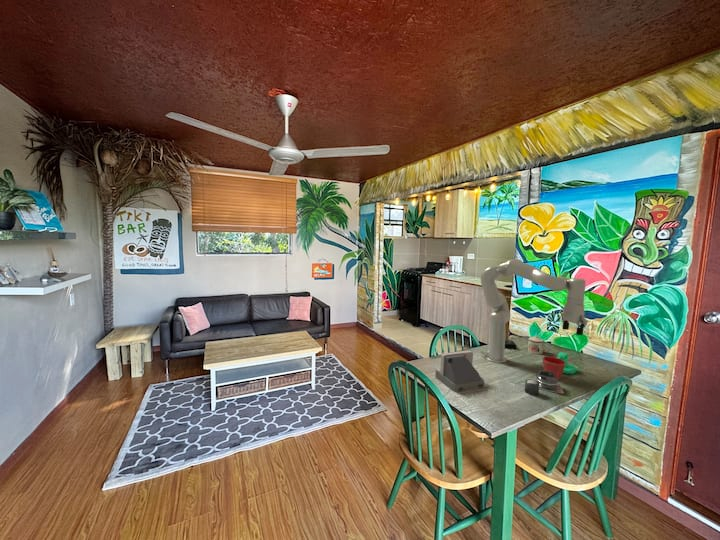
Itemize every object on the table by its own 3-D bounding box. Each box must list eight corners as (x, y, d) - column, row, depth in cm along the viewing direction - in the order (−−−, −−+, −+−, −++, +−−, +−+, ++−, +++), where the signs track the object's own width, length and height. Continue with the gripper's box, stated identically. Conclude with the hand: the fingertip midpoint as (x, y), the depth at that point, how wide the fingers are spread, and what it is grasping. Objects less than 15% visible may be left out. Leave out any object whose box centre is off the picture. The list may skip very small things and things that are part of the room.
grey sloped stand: (467, 372, 169) (468, 346, 168) (488, 390, 149) (490, 361, 148) (432, 374, 166) (433, 348, 164) (449, 392, 145) (451, 363, 144)
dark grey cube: (525, 393, 146) (526, 383, 145) (524, 388, 151) (524, 378, 151) (539, 396, 143) (540, 385, 143) (537, 391, 149) (538, 380, 148)
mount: (567, 375, 168) (568, 358, 167) (553, 370, 175) (554, 353, 174) (578, 371, 173) (580, 354, 172) (564, 367, 180) (566, 350, 179)
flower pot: (569, 380, 161) (570, 363, 160) (551, 381, 159) (553, 364, 159) (553, 372, 172) (554, 356, 171) (536, 373, 170) (538, 356, 169)
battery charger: (512, 346, 216) (512, 340, 216) (516, 350, 207) (516, 345, 207) (493, 344, 219) (493, 339, 219) (496, 348, 210) (496, 343, 210)
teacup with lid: (525, 351, 204) (526, 335, 203) (529, 348, 210) (531, 332, 209) (545, 357, 195) (546, 339, 194) (549, 353, 201) (550, 337, 200)
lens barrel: (533, 388, 152) (534, 376, 151) (531, 379, 162) (531, 368, 161) (563, 394, 146) (564, 381, 146) (559, 384, 156) (560, 372, 156)
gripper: (556, 298, 168) (554, 327, 170) (581, 304, 151) (578, 337, 152) (569, 298, 169) (566, 327, 170) (595, 304, 151) (592, 337, 153)
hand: (572, 332), depth 161 cm, fingers open, 9 cm apart
